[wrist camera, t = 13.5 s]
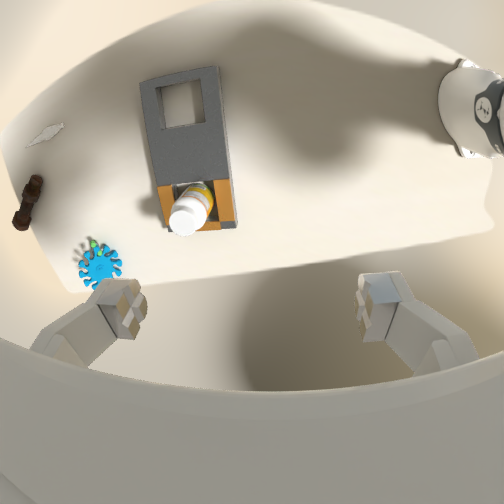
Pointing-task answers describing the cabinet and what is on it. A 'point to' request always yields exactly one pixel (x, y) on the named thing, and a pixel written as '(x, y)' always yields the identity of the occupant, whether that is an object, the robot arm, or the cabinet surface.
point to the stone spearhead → (47, 133)
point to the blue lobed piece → (99, 265)
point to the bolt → (27, 203)
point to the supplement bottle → (191, 209)
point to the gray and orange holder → (191, 146)
